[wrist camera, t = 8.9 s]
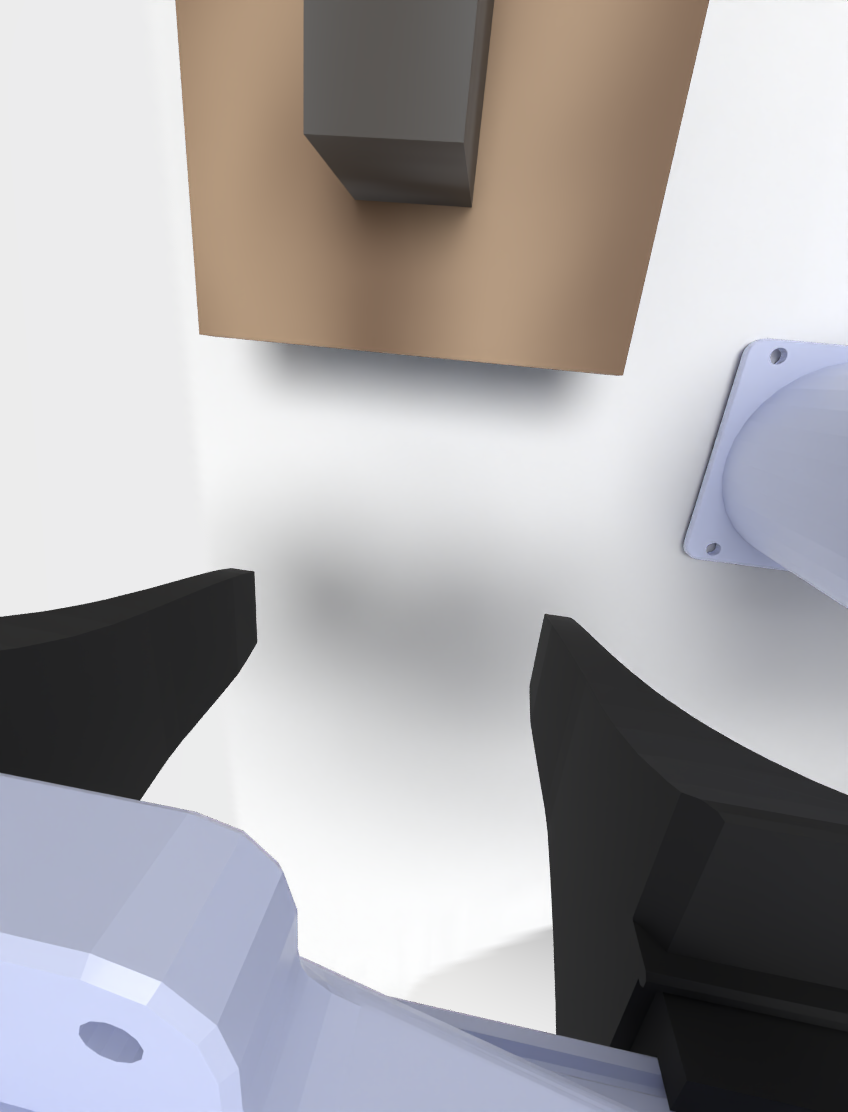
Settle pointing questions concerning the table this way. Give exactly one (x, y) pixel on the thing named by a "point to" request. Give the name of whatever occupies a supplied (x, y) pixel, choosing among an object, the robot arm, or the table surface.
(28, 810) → the robot arm
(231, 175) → the walnut lid
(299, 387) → the table surface
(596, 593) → the table surface
